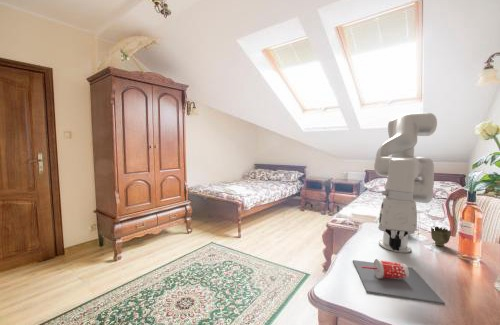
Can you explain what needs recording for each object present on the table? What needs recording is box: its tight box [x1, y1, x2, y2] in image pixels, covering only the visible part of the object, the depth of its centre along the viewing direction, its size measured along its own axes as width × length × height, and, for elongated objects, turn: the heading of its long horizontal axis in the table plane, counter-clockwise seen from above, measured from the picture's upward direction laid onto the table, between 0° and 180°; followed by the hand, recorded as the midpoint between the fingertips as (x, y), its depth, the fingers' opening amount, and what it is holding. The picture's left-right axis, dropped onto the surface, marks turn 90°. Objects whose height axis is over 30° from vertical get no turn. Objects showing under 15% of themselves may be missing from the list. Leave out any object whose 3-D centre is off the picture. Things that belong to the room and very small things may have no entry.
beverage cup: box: [362, 258, 409, 279], centre depth 80 cm, size 6×6×14 cm
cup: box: [430, 226, 452, 248], centre depth 110 cm, size 8×7×8 cm
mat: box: [352, 259, 445, 306], centre depth 80 cm, size 20×21×1 cm
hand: (394, 248), depth 79 cm, fingers closed
